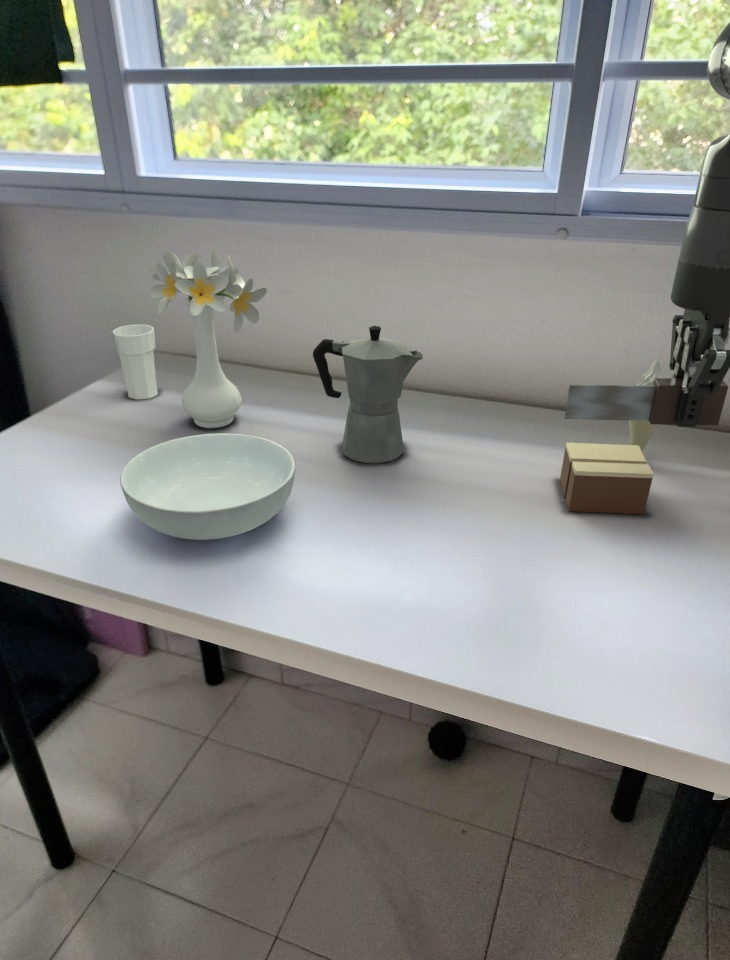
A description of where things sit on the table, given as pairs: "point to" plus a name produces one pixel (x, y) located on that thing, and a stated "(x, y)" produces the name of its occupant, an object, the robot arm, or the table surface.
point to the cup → (137, 359)
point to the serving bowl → (208, 484)
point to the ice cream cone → (644, 429)
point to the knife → (639, 402)
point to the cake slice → (608, 487)
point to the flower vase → (207, 328)
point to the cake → (597, 457)
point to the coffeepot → (370, 393)
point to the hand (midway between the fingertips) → (681, 419)
